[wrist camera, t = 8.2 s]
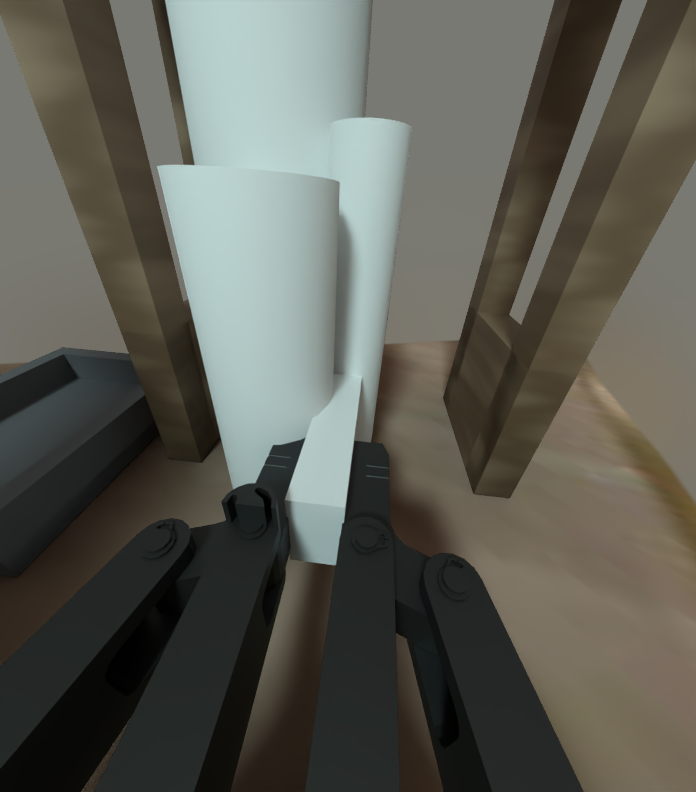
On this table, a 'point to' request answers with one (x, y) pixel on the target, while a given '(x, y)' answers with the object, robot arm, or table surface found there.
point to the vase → (283, 212)
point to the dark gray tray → (63, 443)
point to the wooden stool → (505, 250)
